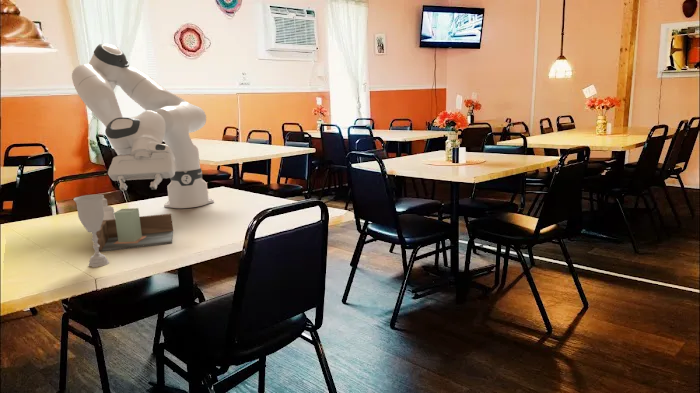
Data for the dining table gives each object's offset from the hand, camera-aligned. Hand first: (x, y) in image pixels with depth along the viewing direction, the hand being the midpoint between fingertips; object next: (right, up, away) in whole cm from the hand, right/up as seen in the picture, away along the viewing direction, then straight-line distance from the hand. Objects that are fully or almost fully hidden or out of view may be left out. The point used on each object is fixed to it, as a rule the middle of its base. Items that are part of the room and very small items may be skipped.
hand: (137, 188), depth 161 cm
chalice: (-1, -20, -24) cm, 31 cm away
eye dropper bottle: (-14, -14, +10) cm, 23 cm away
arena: (+1, -16, -4) cm, 16 cm away
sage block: (-1, -15, -4) cm, 16 cm away
